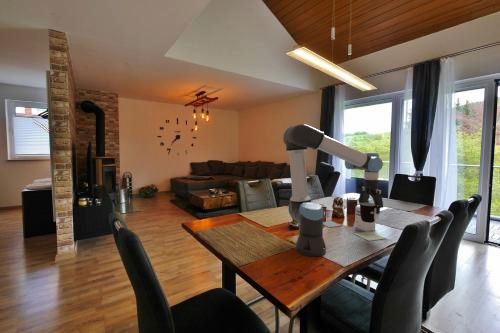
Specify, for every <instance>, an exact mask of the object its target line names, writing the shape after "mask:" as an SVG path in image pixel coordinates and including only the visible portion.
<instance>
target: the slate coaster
mask: <svg viewBox="0 0 500 333" xmlns="http://www.w3.org/2000/svg"><path fill="white" fill-rule="evenodd" d="M323 226H325V227H327V228H337V227H342V225H341V224H339V223H337V222H335V221H332V220H331V221H323Z"/></svg>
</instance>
